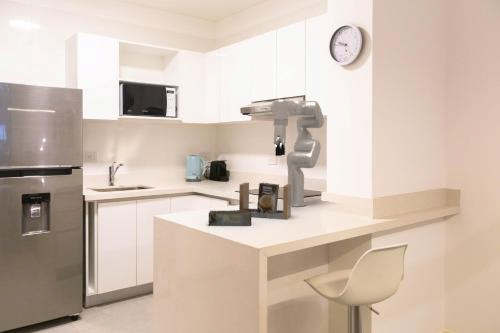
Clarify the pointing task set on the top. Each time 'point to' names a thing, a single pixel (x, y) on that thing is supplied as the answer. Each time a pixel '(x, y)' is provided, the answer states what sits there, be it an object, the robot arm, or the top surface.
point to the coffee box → (268, 198)
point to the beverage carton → (230, 218)
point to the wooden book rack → (279, 215)
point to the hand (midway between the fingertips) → (280, 155)
